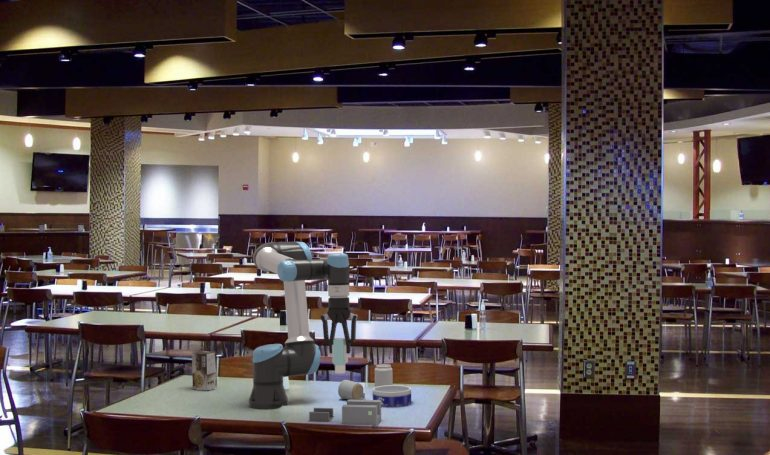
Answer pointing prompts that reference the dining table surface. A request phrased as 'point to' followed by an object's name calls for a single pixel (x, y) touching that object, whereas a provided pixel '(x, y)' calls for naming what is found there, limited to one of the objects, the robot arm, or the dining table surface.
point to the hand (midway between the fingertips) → (340, 362)
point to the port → (362, 412)
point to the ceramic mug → (350, 390)
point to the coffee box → (204, 370)
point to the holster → (321, 415)
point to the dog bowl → (392, 395)
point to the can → (383, 375)
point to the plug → (339, 355)
